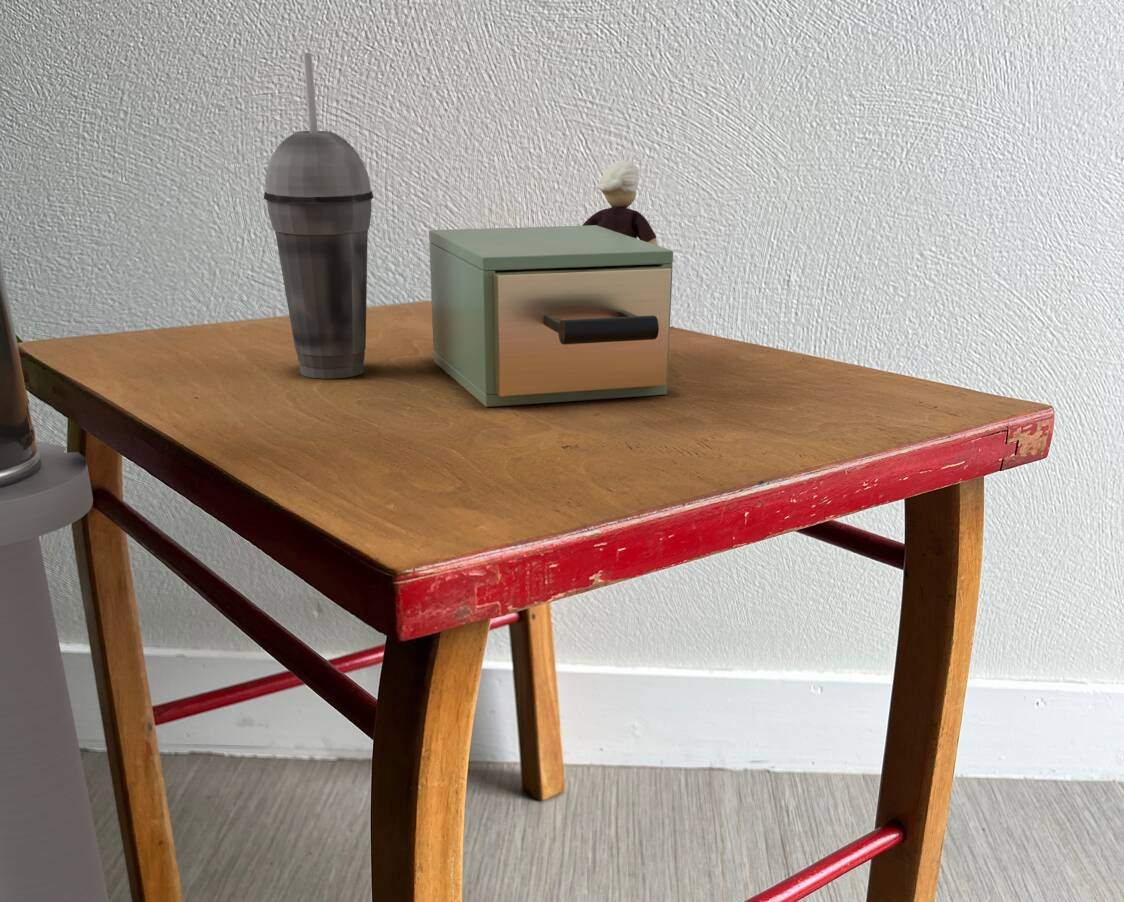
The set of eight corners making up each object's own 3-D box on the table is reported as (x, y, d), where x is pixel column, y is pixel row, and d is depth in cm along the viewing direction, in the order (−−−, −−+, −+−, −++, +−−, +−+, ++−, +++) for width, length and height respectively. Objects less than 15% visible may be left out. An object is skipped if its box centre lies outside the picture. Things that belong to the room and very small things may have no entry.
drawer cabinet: (667, 394, 86) (673, 250, 82) (485, 407, 83) (482, 257, 78) (594, 352, 98) (596, 225, 94) (433, 362, 95) (428, 230, 91)
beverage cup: (281, 384, 88) (249, 52, 78) (279, 363, 94) (249, 52, 85) (388, 380, 89) (369, 53, 80) (379, 359, 96) (361, 53, 86)
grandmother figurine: (664, 322, 110) (671, 159, 104) (656, 330, 107) (663, 163, 101) (576, 318, 111) (578, 157, 105) (566, 326, 108) (567, 160, 102)
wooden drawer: (696, 402, 81) (703, 280, 77) (521, 415, 77) (521, 287, 74) (597, 346, 96) (599, 242, 93) (448, 355, 93) (445, 247, 89)
